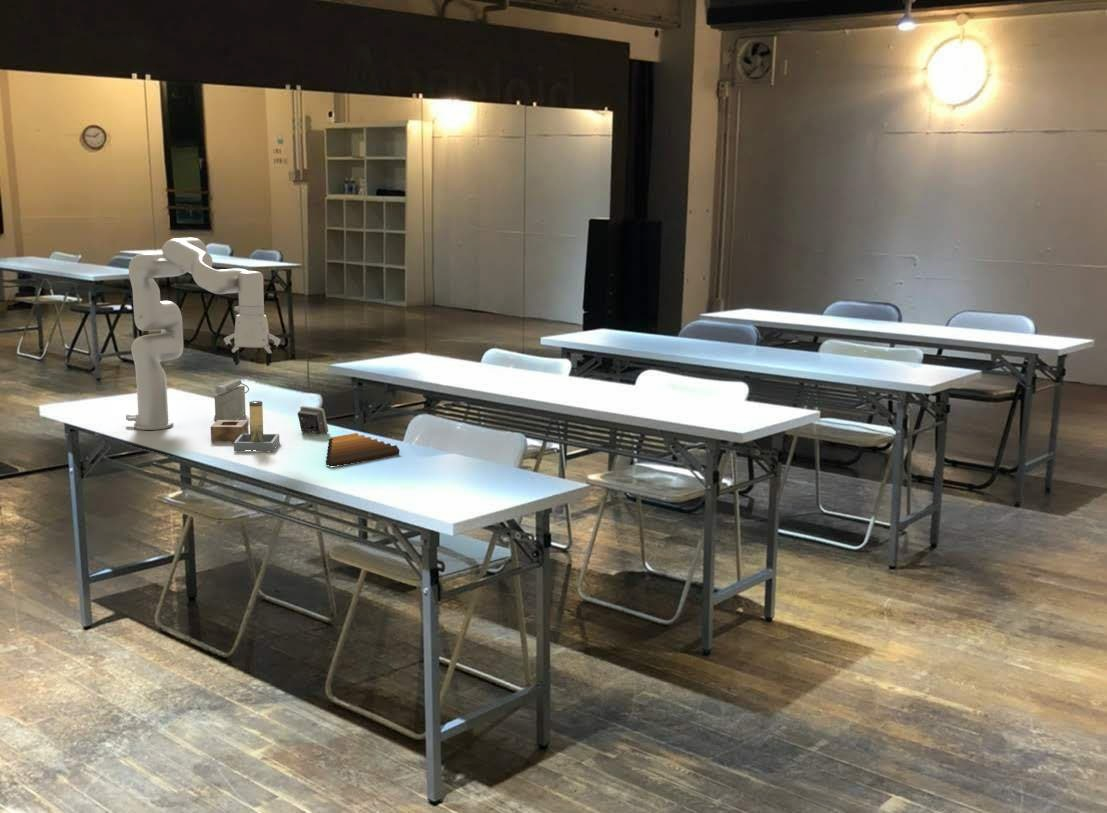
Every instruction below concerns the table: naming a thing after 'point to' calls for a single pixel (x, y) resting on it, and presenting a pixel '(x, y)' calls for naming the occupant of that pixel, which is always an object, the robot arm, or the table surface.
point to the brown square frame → (228, 430)
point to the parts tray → (256, 443)
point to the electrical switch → (312, 420)
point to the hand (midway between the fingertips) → (252, 364)
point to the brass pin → (256, 421)
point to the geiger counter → (230, 401)
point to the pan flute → (357, 449)
